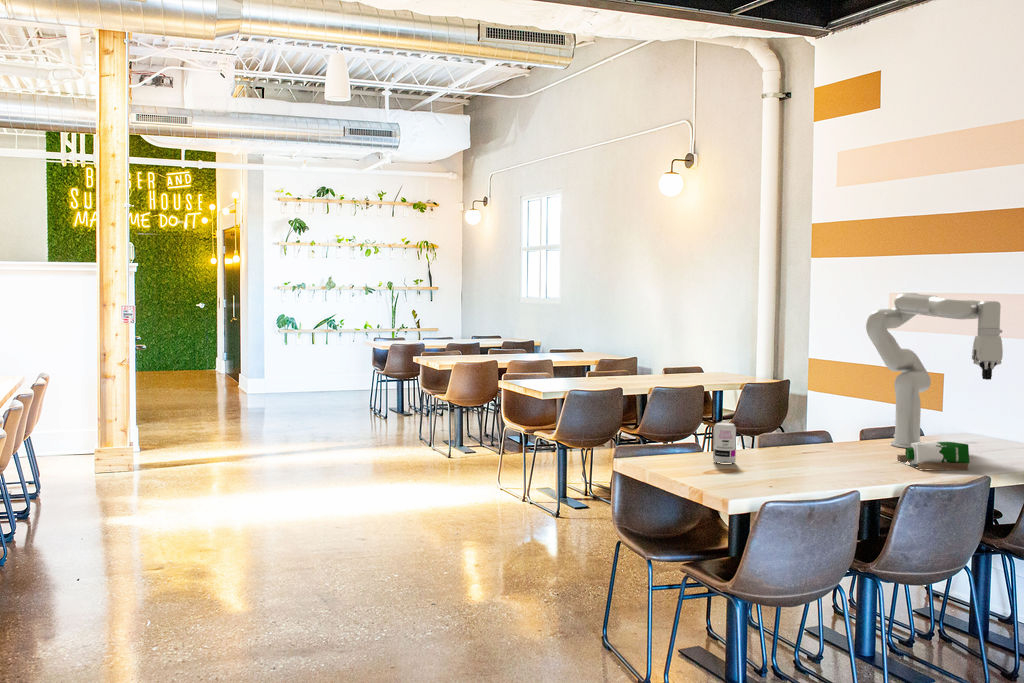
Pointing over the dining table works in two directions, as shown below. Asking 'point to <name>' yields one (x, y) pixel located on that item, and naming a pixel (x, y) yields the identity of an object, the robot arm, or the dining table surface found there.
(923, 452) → the soya milk
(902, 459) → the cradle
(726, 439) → the supplement can
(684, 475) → the dining table surface
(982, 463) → the dining table surface
